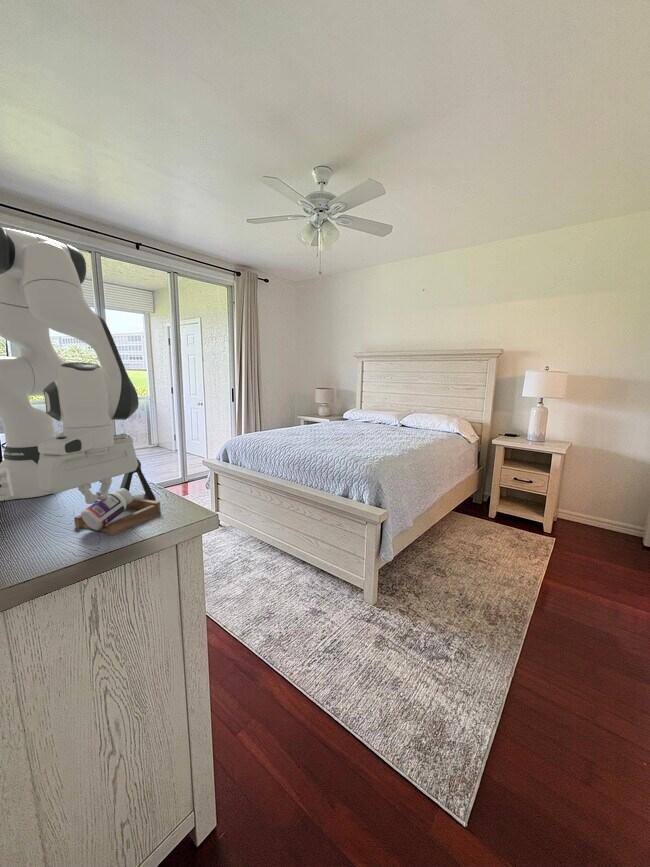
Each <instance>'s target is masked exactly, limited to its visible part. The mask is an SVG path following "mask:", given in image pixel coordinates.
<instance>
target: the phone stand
mask: <svg viewBox="0 0 650 867" xmlns="http://www.w3.org/2000/svg"><path fill="white" fill-rule="evenodd" d="M137 463H138V466H137V469H136V470H135V471H133V472H129V473H126V474H123V478H122V482H121V484H120V487H119V489H121V488H125V489H126V490H128V491H129V492H130V488H131V484H132V479H133V475H134V474H135V473H137V474H136V475H137V476H138V479H139V481H140V484H141V486H142V489H143V492H144V493H142V494H137V495H132V496H133V497H134V498H140V499H146V500H152V501H155V500H156V498H157V497H156V496H155V494H154V492H153V491H152V489H151V486H150V485H149V483H148V481H147V479H146V477H145V475H144V473H143V471H142V463H141V461H140V460H139V458H138V457H137ZM154 499H155V500H154Z"/></svg>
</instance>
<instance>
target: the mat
mask: <svg viewBox="0 0 650 867" xmlns="http://www.w3.org/2000/svg"><path fill="white" fill-rule="evenodd" d="M137 511H138V510H133V509H127V508H126V509H125V510H124V511H123V512H122V513H121V514H119V515H118V516H117V517H115V518H114V519H113V520H111V521H110V522H109V523H111V522H113V521H116V520H118V519H120V518H123V517H125V516H127V515H130V514H132V513H134V512H137ZM109 523H108V524H109ZM105 526H107V524H106V525H105Z"/></svg>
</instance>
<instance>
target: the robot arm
mask: <svg viewBox="0 0 650 867" xmlns="http://www.w3.org/2000/svg"><path fill="white" fill-rule="evenodd" d="M86 275H87V262H86V259H85V257H84V255H83V254H82V252H81V251H80V250H79V249H77V248H76V247H73V246H72V245H70V244H67V243H62V242H59V241H57V240H54V239H51V238H48V237H46V236H43V235H41V234H40V235H39V234H37V233H30V232H27V231H24V230H23V231H22V230H18V229H14V228H13V229H12V228H8V227H2V226H1V225H0V336H1V337H2V339H5V341H6V340H7V341H8V342H10V343H12V344H15V345H16V346H18V348H19V351H20V356H7V355H6V356H1V355H0V422H1V424H2V425H1V426H2V428H3V429H2V430H3V433H4V438H5V445H6V446H4V447H1V449H4V450H2V452H3V460H2V461H1V462H0V502H2V501H3V502H4V500H5V501H10V500H17V499H30V498H36V497H37V498H38V497H43V496H48V495H51V494H54V495H55V494H59V493H63V492H66V491H69V490H72V489H76V488H77V489H78V491H80V493H81V494H82V495H83V496H84V498H85V499H84V500H85V504H87V505H92V504H94V503H95V502H97V501H98V500H104V499H107V498H108V493H109V490H110V488H111V485H112V483H113V482H112V481H113V480H112V478H114V477H115V478H116V477H118V476H122V475H124V474H126V473H129V472H133V471H135V470H136V469H137V466H138V463H137V458H138V457H137V453H136V450H135V447H134V442H133V438H132V437H131V436H130V435H128V434H127V433H119V434H114V429H113V421H122V420H125V421H126V420H127V419H129V418H130V417H132V416H133V414H135V413H136V411H137V410H138V409H139V396H138V392H137V390H136V388H135V385H134V384H133V382H132V380H131V378H130V376H129V375H128V372H127V370H126V368H125V365H124V362H123V360H122V357H121V355H120V352H119V350H118V348H117V346H116V342H115V340H114V338H113V336H112V333H111V331H110V328H109V326H108V325H107V323H106V321H105V319H104V318H103V317H101V316H100V315H98V314H97V313H96V312H95V311H94V310H92V308H91V307H90V305H89V304H88V303H87V301H86V299H85V297H84V293H83V288H82V284H84V282H85V279H86ZM50 330H52V331H55V332H57V333H60V334H63V335H66V336H69V337H72V338H74V339H77V340H79V341H81V342H83V343H85V344H87V345H89V346H90V347H91V348H92V349H93V351H94V352H95V353H96V356H97V358H98V361H99V363H100V365H98V364H96V363H91V362H89V363H88V362H80V361H79V362H77V361H76V362H74V361H73V362H71V361H70V362H66V360H63V359H62V358H61V357H60V355H59V354H58V353H57V352H56V350H55V348H54V346H53V344H52V341H51V337H50V336H51V335H50ZM35 396H36V397H37V396H38V397H39V396H44V403H45V411H44V410H42V409H39V408H36V407H33V405H32V404H31V403H30V400H29V399H28V398H29V397H35ZM53 419H54V420H55V421H58V422H62V431H63V432H60V433H59V434H57V435H55V427H54V426H55V425H54V420H53ZM112 420H113V421H112ZM97 482H99V483H100V488H99V490H98V491H95V493H96V494H95V493H93V492H92V491H91V489H92V484H93V483H94V484H95V483H97Z"/></svg>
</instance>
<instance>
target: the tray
mask: <svg viewBox="0 0 650 867" xmlns="http://www.w3.org/2000/svg"><path fill="white" fill-rule="evenodd" d="M126 508H127V509H133V510H138V511H137V512H134V513H132V514H130V515H127V516H125V517H123V518H120V519H118V520H116V521H113V522H111V523H109V524H107V526H104V527H102V528H101V529H99V530H97V531H99V532H101V533H102V532H104V533H106V534H107V535H108V536H112V537H113V536H115V535H117V534H119V533H121V532H123V531H126V530H128V529H130V528H132V527H134V526H137V525H139V524H140V523H143V522H145V521H147V520H150V519H151V518H154V517H155V515H156V516H158V515H159V513H160V514H162V510H161V501H158V500H146V499H140V498H134V497H133V501H132V502H130V503H129V504H128V505H126ZM157 514H158V515H157ZM153 516H154V517H153ZM73 519H74V528H76V529H81V528H85V529H89V530H93V531H94V529H92V528H90V527H89V526H88V525H87V524H86V523H85V522H84V520H83V519H82V516H81V514H80V515H78V516H77V515H76V516H75V517H73Z"/></svg>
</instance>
